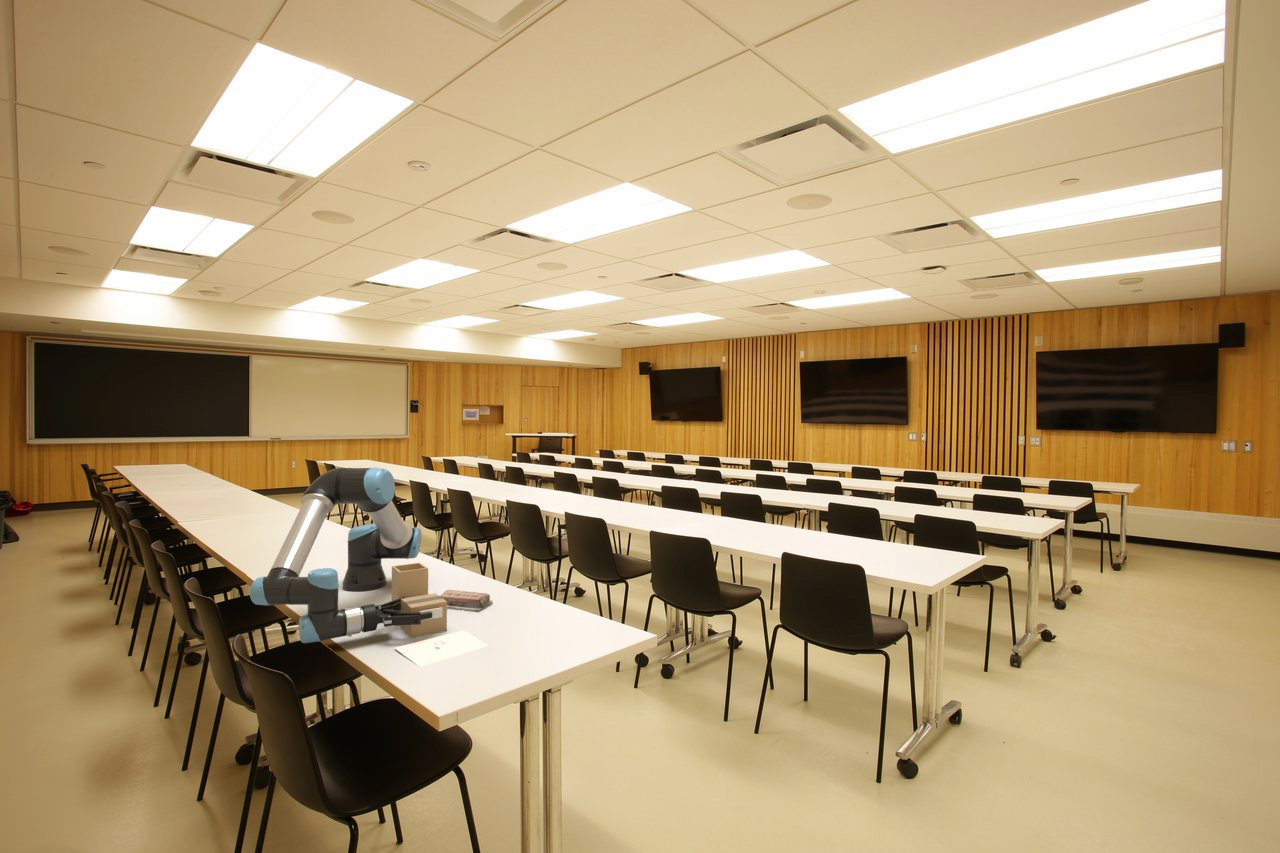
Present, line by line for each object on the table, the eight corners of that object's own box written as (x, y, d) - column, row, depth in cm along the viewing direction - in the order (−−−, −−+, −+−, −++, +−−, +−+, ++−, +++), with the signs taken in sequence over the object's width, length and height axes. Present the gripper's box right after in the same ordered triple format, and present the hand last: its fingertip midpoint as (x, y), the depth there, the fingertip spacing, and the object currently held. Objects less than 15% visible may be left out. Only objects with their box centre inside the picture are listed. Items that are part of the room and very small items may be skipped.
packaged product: (493, 591, 209) (478, 599, 200) (493, 604, 209) (478, 613, 200) (448, 586, 214) (432, 594, 204) (448, 600, 214) (431, 608, 204)
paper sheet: (472, 631, 183) (472, 627, 183) (515, 666, 160) (515, 662, 160) (392, 648, 168) (392, 644, 168) (426, 689, 146) (427, 685, 146)
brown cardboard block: (400, 627, 184) (400, 598, 184) (435, 621, 191) (435, 592, 190) (410, 638, 176) (411, 607, 176) (446, 630, 182) (447, 601, 182)
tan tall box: (391, 614, 196) (391, 566, 196) (419, 609, 202) (419, 562, 201) (399, 622, 189) (399, 572, 189) (427, 617, 194) (428, 568, 194)
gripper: (351, 620, 182) (422, 607, 195) (371, 645, 162) (448, 629, 175) (351, 595, 182) (422, 584, 195) (371, 618, 162) (448, 604, 175)
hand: (434, 606), depth 185 cm, fingers open, 13 cm apart
